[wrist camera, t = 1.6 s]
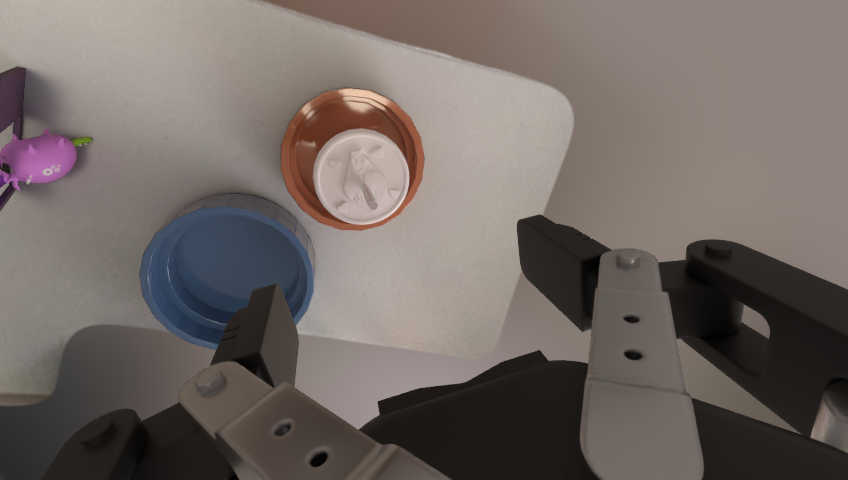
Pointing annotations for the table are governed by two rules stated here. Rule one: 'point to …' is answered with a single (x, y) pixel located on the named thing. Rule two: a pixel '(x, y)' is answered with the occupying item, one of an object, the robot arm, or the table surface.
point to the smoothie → (361, 176)
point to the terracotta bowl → (334, 117)
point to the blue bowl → (224, 264)
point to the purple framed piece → (29, 143)
